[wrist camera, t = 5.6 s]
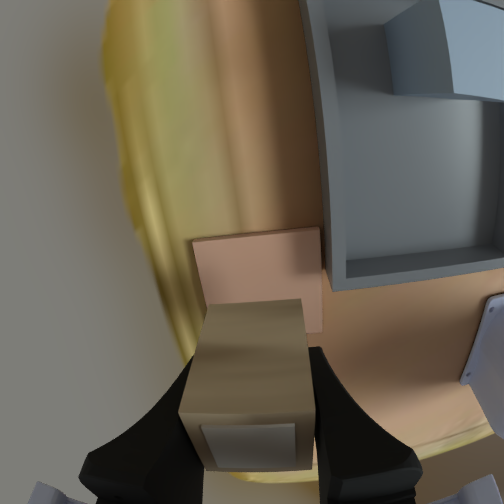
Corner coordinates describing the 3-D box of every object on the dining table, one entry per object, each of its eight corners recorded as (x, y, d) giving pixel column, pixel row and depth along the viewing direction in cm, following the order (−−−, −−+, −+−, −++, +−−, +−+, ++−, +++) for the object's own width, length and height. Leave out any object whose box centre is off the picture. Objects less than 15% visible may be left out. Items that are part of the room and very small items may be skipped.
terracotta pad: (321, 327, 20) (322, 332, 20) (216, 335, 21) (215, 340, 21) (318, 226, 18) (319, 229, 17) (193, 239, 18) (192, 242, 18)
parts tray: (493, 249, 17) (513, 265, 15) (325, 269, 19) (332, 291, 16) (487, 8, 11) (510, 1, 8) (294, -18, 12) (298, -37, 10)
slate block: (456, 99, 13) (526, 105, 8) (393, 95, 14) (453, 92, 8) (447, 32, 12) (513, 14, 6) (383, 24, 12) (436, -10, 7)
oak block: (302, 365, 15) (311, 471, 10) (223, 368, 16) (206, 473, 10) (301, 298, 14) (315, 413, 8) (209, 304, 14) (177, 415, 8)
